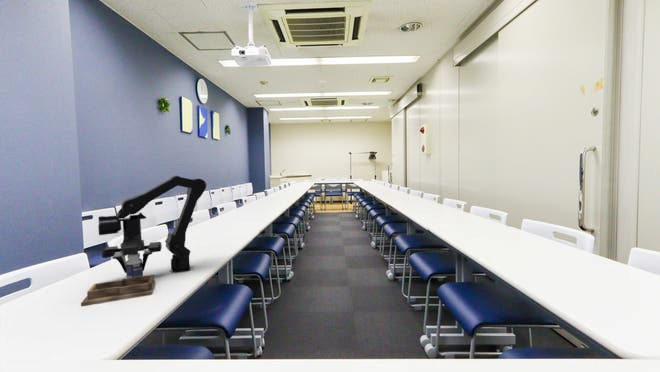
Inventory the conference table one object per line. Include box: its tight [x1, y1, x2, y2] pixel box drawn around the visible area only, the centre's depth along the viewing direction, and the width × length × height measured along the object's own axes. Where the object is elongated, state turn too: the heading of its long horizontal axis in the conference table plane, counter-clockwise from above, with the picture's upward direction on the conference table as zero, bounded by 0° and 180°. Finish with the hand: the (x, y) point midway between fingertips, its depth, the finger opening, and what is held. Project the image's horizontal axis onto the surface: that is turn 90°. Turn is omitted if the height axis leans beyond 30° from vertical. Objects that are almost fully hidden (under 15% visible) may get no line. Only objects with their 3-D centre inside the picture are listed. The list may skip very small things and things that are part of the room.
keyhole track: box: [80, 274, 156, 307], centre depth 104 cm, size 19×12×4 cm, turn 115°
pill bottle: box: [125, 252, 144, 278], centre depth 117 cm, size 5×5×10 cm
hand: (134, 271), depth 117 cm, fingers closed on pill bottle, 5 cm apart
